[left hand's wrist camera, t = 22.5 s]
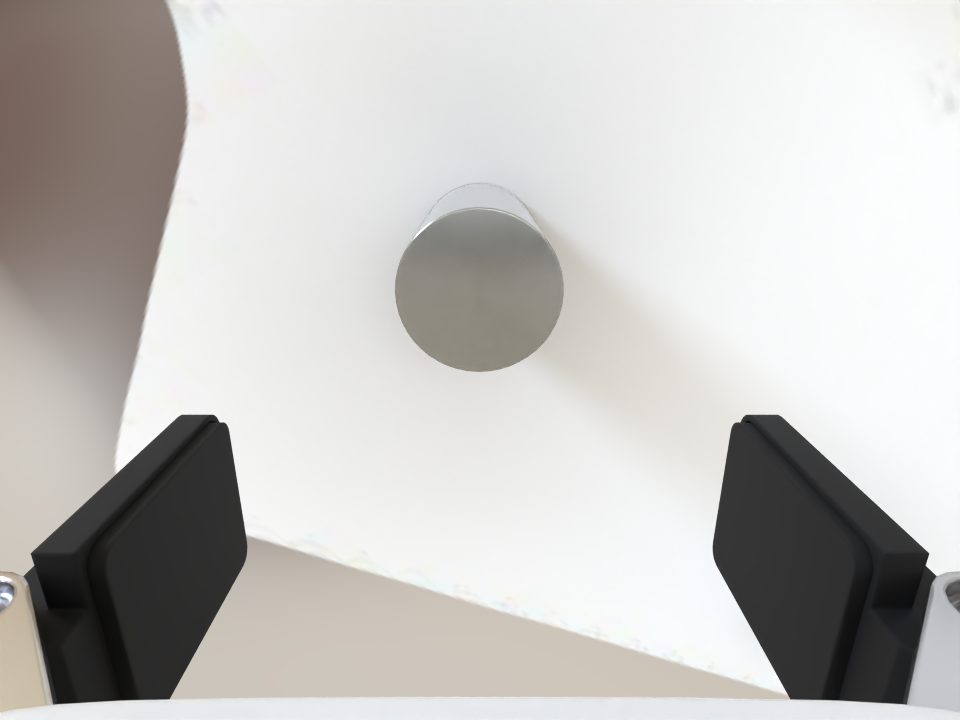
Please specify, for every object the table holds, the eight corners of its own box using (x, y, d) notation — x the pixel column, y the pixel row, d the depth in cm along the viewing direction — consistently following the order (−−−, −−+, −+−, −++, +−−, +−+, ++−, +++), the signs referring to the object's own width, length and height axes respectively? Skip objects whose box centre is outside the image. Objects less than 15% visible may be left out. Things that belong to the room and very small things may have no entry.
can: (458, 315, 37) (448, 398, 25) (402, 219, 35) (362, 261, 23) (555, 262, 36) (592, 324, 24) (502, 161, 34) (514, 173, 22)
